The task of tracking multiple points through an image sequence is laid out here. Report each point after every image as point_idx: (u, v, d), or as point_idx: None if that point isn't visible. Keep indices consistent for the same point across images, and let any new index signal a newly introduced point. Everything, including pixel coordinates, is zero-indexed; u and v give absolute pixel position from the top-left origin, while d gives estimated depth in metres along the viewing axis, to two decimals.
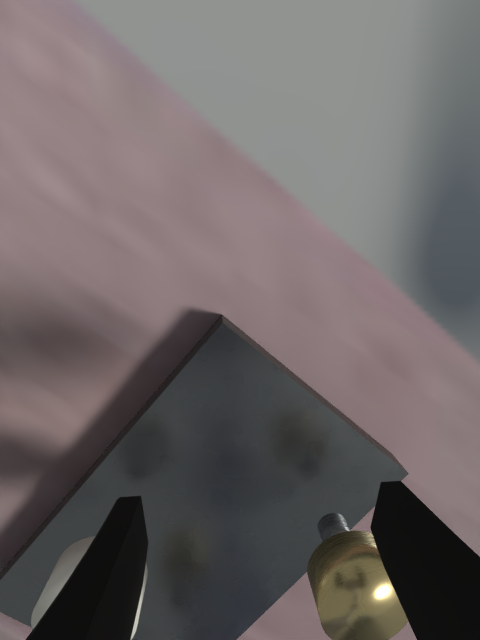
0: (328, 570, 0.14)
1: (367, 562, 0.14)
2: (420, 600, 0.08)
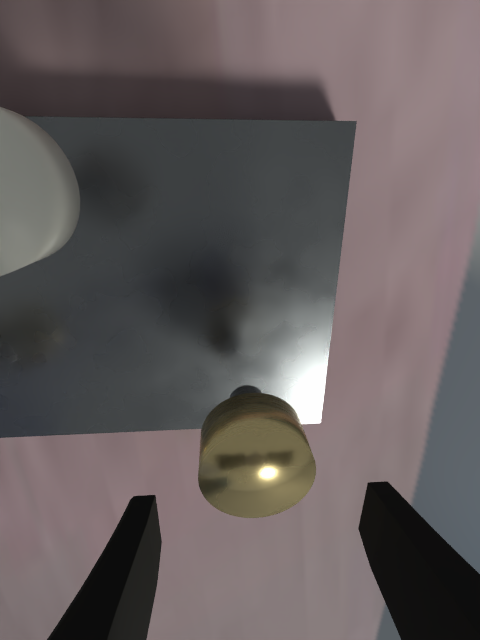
0: (257, 414, 0.11)
1: (301, 435, 0.11)
2: (405, 602, 0.08)
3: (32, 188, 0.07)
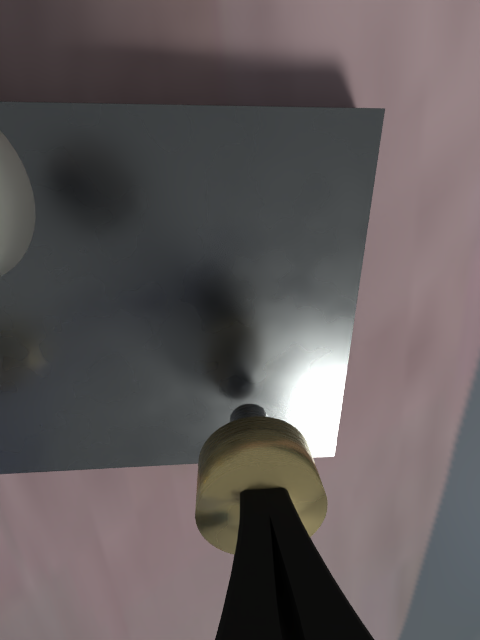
0: (261, 443, 0.10)
1: (311, 466, 0.10)
2: (280, 612, 0.08)
3: None
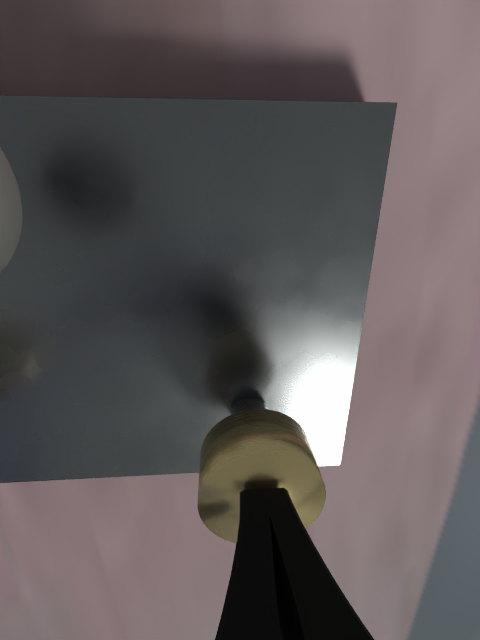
0: (262, 434, 0.10)
1: (310, 457, 0.10)
2: (280, 611, 0.08)
3: None
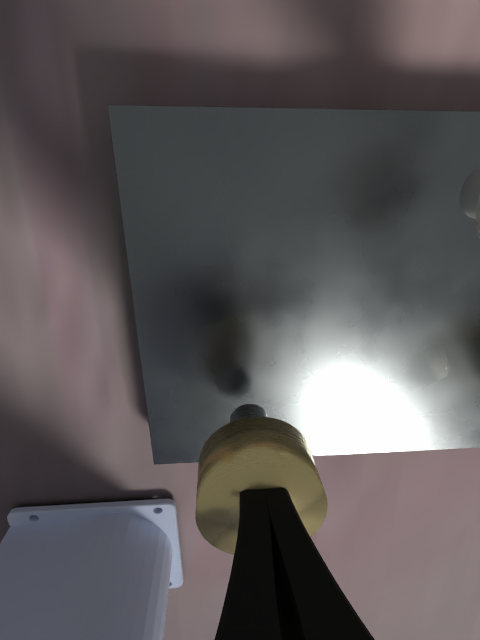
0: None
1: None
2: (280, 612, 0.08)
3: None
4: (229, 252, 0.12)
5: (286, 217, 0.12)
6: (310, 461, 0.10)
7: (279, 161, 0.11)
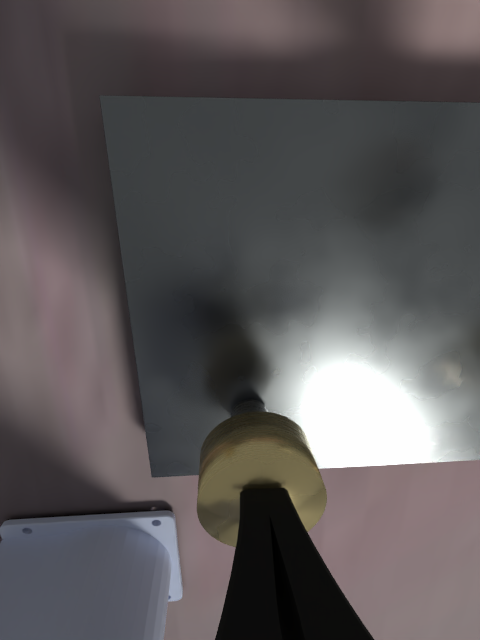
0: None
1: None
2: (280, 611, 0.08)
3: None
4: (231, 255, 0.12)
5: (292, 217, 0.11)
6: (310, 455, 0.10)
7: (286, 157, 0.10)
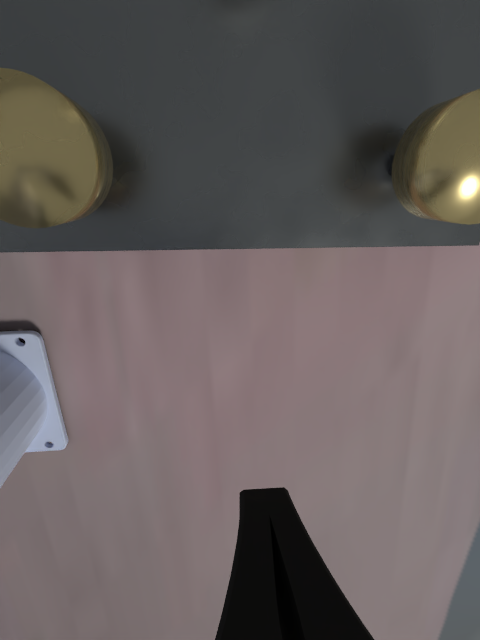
0: None
1: None
2: (280, 612, 0.08)
3: None
4: None
5: None
6: (79, 109, 0.09)
7: None
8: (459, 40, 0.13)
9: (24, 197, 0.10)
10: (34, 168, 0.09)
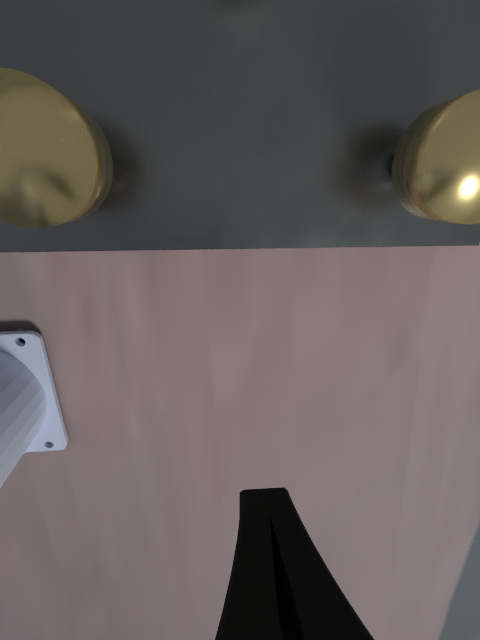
0: None
1: None
2: (280, 612, 0.08)
3: None
4: None
5: None
6: (79, 109, 0.09)
7: None
8: (459, 40, 0.13)
9: (24, 197, 0.10)
10: (34, 168, 0.09)
